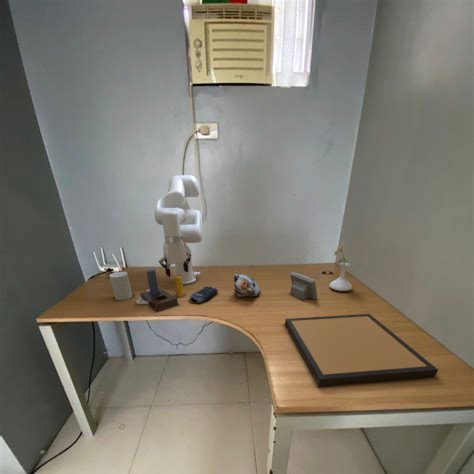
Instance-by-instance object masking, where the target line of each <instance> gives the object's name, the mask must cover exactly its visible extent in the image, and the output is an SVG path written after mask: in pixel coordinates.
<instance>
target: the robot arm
mask: <svg viewBox="0 0 474 474" xmlns="http://www.w3.org/2000/svg"><path fill="white" fill-rule="evenodd" d="M168 181H169V182H168V187H167V193H165V194H164V195H162V196H161V197H160V198H159V199H158V200H157V202H156V204H155V207H154V220H155V222H156V224H158V225H159V226H162V229H163V236H164V242H163V245H162V247H163V248H162V250H163V252H162V253H163V257H161V258H160V259H159V260H158V263H159V265H160V266H161V267H163V268H164V269H165V275H166V276H168V277H169V278H171V277H172V273H171V269H170V267H171V266H172V265H174V266H175V274H176V275H175V276H182V283H183V285H190V284H193V283H195V282H197V276H201V272H200V271H198V272H197V271H194V270H193V261H192V251H191V248H190V247H189V246H188V244H198V243H201V242H202V240H203V215H202V212H201V211H200V210H198V209H190V205H189V203H188V202H187V201H186V200H185V198H198V197H199V196H200V193H201V186H200V183H199V181H198V179H197V178H196V177H195V176H194V175H191V174H186V175H185V174H183V175H181V174H180V175H179V174H177V175H173V176H171V178H169V180H168Z"/></svg>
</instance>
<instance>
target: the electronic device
mask: <svg viewBox="0 0 474 474" xmlns="http://www.w3.org/2000/svg"><path fill="white" fill-rule="evenodd" d="M218 292H219V288H215V287H212V286H203V288H202V289H200V290H198V291H195V292H194V293H191V294H190V296H189V300H190V302H191V303H204V302H207V301H208V300H210V299H211V298H212V297H214V296H215V295H217V294H218Z"/></svg>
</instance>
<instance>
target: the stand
mask: <svg viewBox="0 0 474 474" xmlns="http://www.w3.org/2000/svg"><path fill="white" fill-rule="evenodd" d="M148 290H149V291H147V290H145V291H142V292H139V295H140V297H141V298H140V299H142V300H141V301H143V300H144V301H145V302H148V304H147V305H148V306H149V307H150V308H151V309H153V310H154V311H155V312H160V311H163V310H167V309H170V308H174V307H175V306H178V305H179V302H178V297H177V296H174V295H173V294H171V292H170V293H169V292H168V291H166V290H164V289H163V288H162V287H158V290H159V294H157V295H154V296H152V295H151V294H150V289H148Z"/></svg>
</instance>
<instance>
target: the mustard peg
mask: <svg viewBox="0 0 474 474" xmlns="http://www.w3.org/2000/svg"><path fill="white" fill-rule="evenodd" d="M173 285H174V290H175V297H176V298H181V297H184V296H185V293H184V284H183V283H182V276H177V275H174V276H173Z"/></svg>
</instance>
